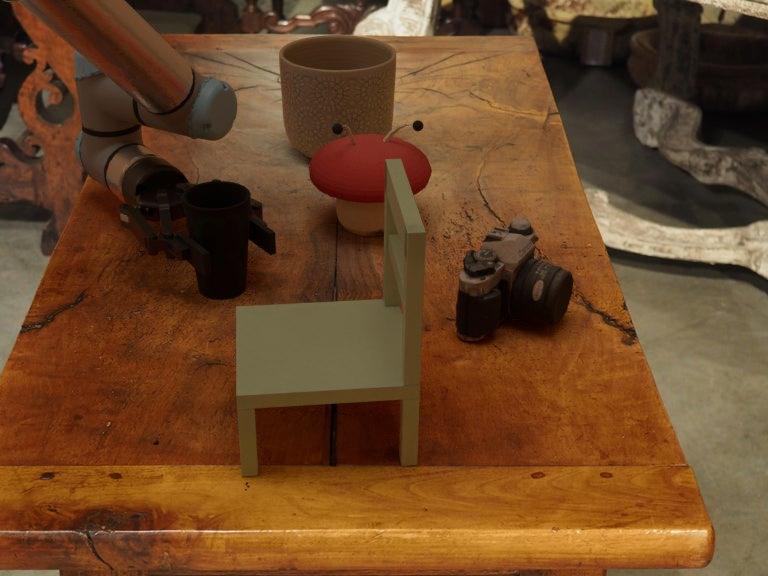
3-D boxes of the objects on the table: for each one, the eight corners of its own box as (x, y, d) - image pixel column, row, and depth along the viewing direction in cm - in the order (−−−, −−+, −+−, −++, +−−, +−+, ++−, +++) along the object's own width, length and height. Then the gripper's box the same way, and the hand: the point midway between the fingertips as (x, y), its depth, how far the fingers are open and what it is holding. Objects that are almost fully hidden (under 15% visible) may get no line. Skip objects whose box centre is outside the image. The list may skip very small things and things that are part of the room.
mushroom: (324, 258, 132) (322, 145, 125) (298, 204, 146) (295, 99, 138) (445, 244, 136) (450, 133, 129) (409, 193, 149) (412, 90, 142)
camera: (531, 364, 113) (539, 281, 108) (444, 337, 117) (448, 256, 112) (584, 299, 125) (594, 222, 120) (503, 276, 129) (510, 201, 124)
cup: (251, 269, 130) (247, 178, 124) (259, 300, 123) (254, 206, 117) (187, 274, 128) (179, 183, 122) (191, 307, 122) (183, 212, 116)
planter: (317, 182, 152) (315, 78, 144) (262, 143, 164) (258, 45, 157) (416, 158, 160) (419, 58, 152) (357, 122, 172) (357, 28, 165)
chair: (241, 477, 96) (225, 240, 84) (240, 381, 109) (226, 164, 97) (417, 465, 98) (426, 231, 86) (396, 372, 111) (401, 158, 99)
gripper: (222, 191, 142) (318, 258, 127) (74, 232, 131) (160, 310, 116) (218, 138, 139) (316, 200, 123) (66, 176, 128) (153, 249, 112)
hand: (240, 253), depth 119 cm, fingers closed on cup, 8 cm apart
